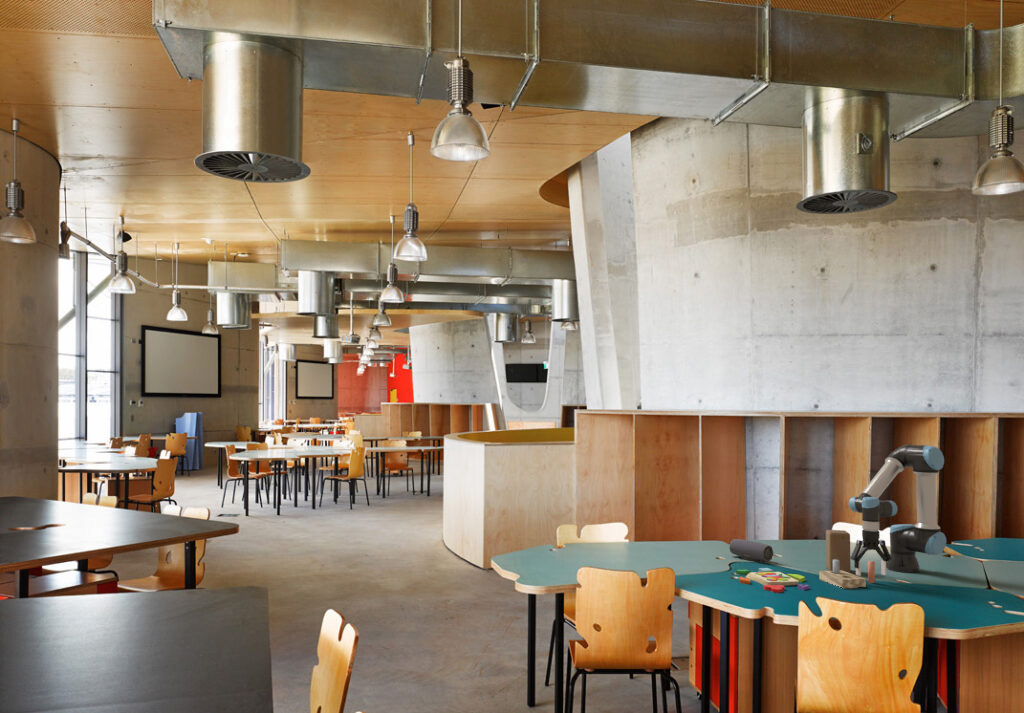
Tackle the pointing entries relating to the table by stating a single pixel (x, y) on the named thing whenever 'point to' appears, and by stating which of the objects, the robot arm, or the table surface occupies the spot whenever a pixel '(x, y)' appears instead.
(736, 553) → the bluetooth speaker
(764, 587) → the pattern blocks set
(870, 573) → the red peg
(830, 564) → the wooden block
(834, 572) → the grey peg
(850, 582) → the hole block
